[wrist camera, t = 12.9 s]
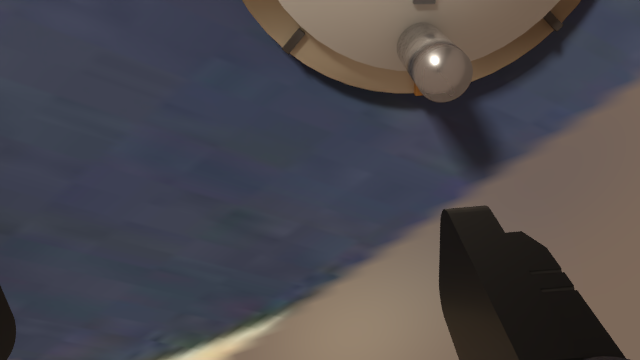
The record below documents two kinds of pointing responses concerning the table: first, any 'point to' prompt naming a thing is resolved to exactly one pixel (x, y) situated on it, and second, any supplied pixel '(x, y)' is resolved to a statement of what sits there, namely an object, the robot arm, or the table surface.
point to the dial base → (368, 77)
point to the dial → (419, 34)
